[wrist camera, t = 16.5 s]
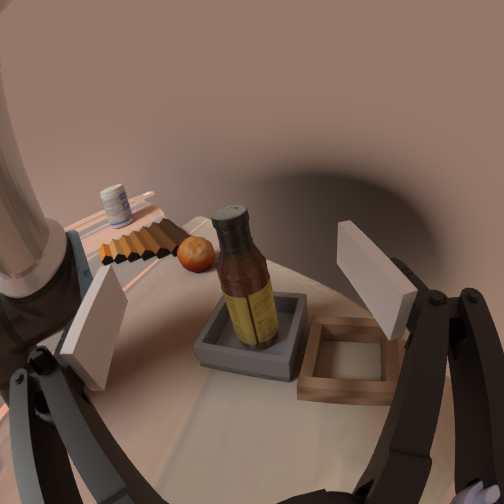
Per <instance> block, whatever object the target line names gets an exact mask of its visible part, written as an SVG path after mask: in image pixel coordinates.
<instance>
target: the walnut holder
mask: <svg viewBox="0 0 504 504" xmlns="http://www.w3.org/2000/svg"><path fill="white" fill-rule="evenodd" d="M321 340H329V341H344V342H364V343H381V381H361V380H342V379H329V378H318V377H315V372H316V367H317V362H318V356H319V351H320V345H321ZM398 380H399V378H398V355H397V341H396V339H393V340H391V341H389V339H388V338H387V336H386V335H385V333H384V332H383V330H382V328H381V327H380V325H379V324H378V322H377V321H376V319H366V318H345V317H328V316H313V318H312V323H311V328H310V333H309V337H308V342H307V346H306V351H305V355H304V359H303V363H302V368H301V372H300V376H299V380H298V384H297V400H305V401H314V402H324V403H336V404H351V405H391V404H392V401H393V397H394V394H395V391H396V387H397V383H398Z"/></svg>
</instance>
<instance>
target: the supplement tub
mask: <svg viewBox="0 0 504 504" xmlns="http://www.w3.org/2000/svg"><path fill="white" fill-rule="evenodd" d="M100 194H101V198H102V201H103V205H104V207H105V211H106V214H107V217H108V219H109V222H110V225H111V227H112V228H113V229H118V228H122V227H124V226H126V225H128V224H130V223H131V222H132V221H133V215H132V212H131V209H130V206H129V202H128V199H127V196H126V192H125V189H124V187H123V184H117V185H114V186H111V187H109V188H106V189H104V190H103V191H101V192H100Z"/></svg>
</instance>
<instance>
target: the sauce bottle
mask: <svg viewBox="0 0 504 504" xmlns="http://www.w3.org/2000/svg"><path fill="white" fill-rule="evenodd" d="M211 219H212V224H213V227H214V228H215V229H216V232H217V236H218V239H219V243H220V245H219V246H220V249H221V252H220V254H219V257H218V260H217V263H216V268H217V272H218V276H219V279H220V282H221V288H222V291H223V294H224V298H225V301H226V304H227V307H228V310H229V313H230V316H231V319H232V323H233V326H234V329H235V332H236V335H237V337H238V338H239V340H240V342H241V343H242V344H243V346H244V347H246V348H249V349H259V350H260V349H265V348H267V347H269V346H270V345H272V344H273V343H274V342H275V341H276V340H277V337H278V333H279V328H278V319H277V314H276V308H275V302H274V297H273V291H272V285H271V280H270V275H269V273H268V269H267V264H266V258H265V257H264V256H263V255H262V254H261V253H260V251H259V250H258V249H257V247H256V246H255V245H254V243H253V239H252V237H251V234H250V229H249V223H248V222H249V214H248V211H247V208H246V207H245V206H242V205H229V206H225V207H222V208H220V209H218V210H216V211H215V212H213V213H212V215H211Z"/></svg>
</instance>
